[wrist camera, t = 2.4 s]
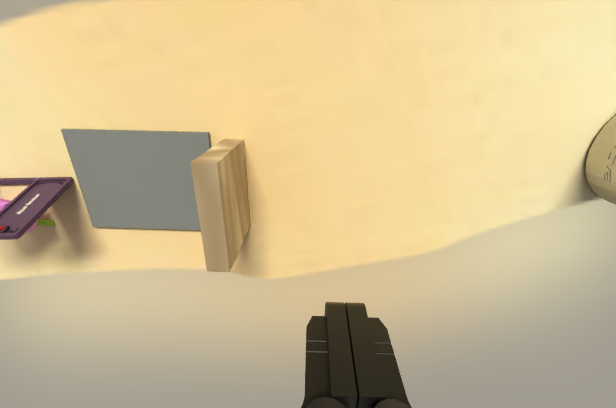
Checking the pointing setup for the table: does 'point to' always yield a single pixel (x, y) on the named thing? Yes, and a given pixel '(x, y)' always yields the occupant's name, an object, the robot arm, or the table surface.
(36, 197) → the purple toy case
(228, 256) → the tile
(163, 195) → the felt mat
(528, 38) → the table surface
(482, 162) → the table surface
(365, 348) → the robot arm
